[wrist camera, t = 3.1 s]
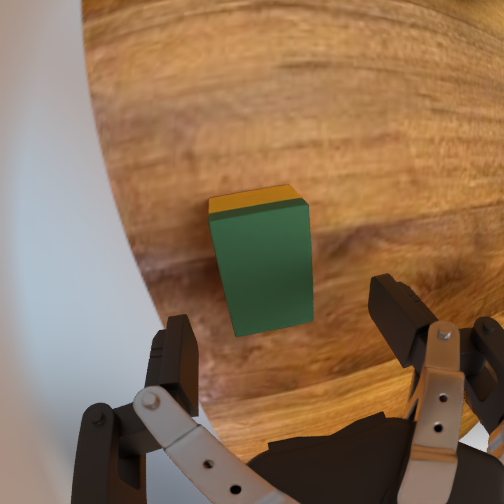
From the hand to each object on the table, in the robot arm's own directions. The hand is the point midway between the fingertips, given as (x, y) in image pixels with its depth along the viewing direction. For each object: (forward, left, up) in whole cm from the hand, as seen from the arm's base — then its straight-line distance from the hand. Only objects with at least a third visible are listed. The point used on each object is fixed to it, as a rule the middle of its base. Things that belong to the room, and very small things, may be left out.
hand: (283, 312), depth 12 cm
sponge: (0, 0, -6) cm, 6 cm away
